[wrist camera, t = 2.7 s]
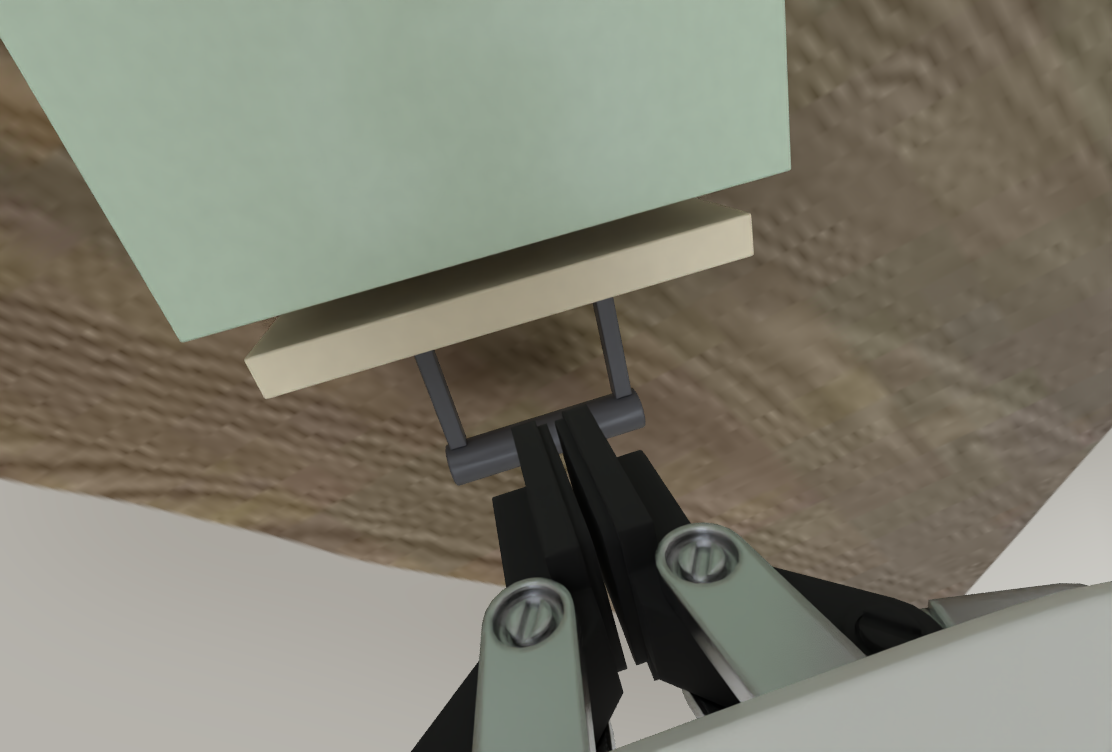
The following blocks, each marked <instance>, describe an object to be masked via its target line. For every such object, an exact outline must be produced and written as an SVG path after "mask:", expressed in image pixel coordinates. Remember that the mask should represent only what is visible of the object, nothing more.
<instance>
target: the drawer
mask: <svg viewBox="0 0 1112 752" xmlns="http://www.w3.org/2000/svg"><path fill="white" fill-rule="evenodd" d="M753 254H754V250H753V236H752V222H751V214H750V213H747V212H744V211H740V210H737V209H733V208H729V207H726V206H722V205H718V204H715V203H711V202H708V201H704V200H700V199H697V198H691V199H687V200H684V201H680V202H677V203H673V204H670V205H666V206H663V207H659V208H656V209H652V210H649V211H645V212H642V213H638V214H635V215H631V216H628V217H624V218H620V219H617V220H613V221H610V222H606V223H603V224H599V225H596V226H592V227H589V228H585V229H582V230H578V231H575V232H571V233H568V234H564V235H561V236H557V237H553V238H550V239H546V240H543V241H539V242H536V243H532V244H529V245H525V246H522V247H518V248H515V249H511V250H508V251H504V252H501V253H497V254H494V255H490V256H487V257H483V258H479V259H476V260H472V261H469V262H465V263H462V264H458V265H455V266H451V267H448V268H444V269H441V270H437V271H434V272H430V273H427V274H423V275H420V276H416V277H412V278H409V279H405V280H402V281H398V282H395V283H391V284H388V285H384V286H381V287H377V288H374V289H370V290H367V291H363V292H360V293H356V294H353V295H349V296H346V297H342V298H338V299H335V300H331V301H328V302H324V303H321V304H317V305H314V306H310V307H307V308H303V309H300V310H296V311H293V312H289V313H286V314H282V315H280V316H279V317H278V318H277V320H276V321H275V322H274V323H273V325H272V326H271V327H270V328H269V329H268V331H267V332H266V333H265V334H264V336H263V337H262V338H261V339H260V341H259V342H258V343H257V344H256V345H255V347H254V348H253V349H252V350H251V352H250V353H249V354H248V355H247V356H246V358H245V359H244V360H245V363H246V365H247V367H248V369H249V370H250V372H251V374H252V376H253V378H254V380H255V381H256V383H257V385H258V387H259V389H260V391H261V392H262V394H263V396H264V398H265V399H269V398H272V397H276V396H279V395H282V394H286V393H289V392H292V391H296V390H299V389H303V388H306V387H309V386H313V385H316V384H320V383H323V382H326V381H330V380H333V379H336V378H340V377H343V376H347V375H350V374H353V373H357V372H360V371H364V370H367V369H370V368H374V367H377V366H381V365H384V364H387V363H391V362H394V361H397V360H401V359H404V358H408V357H411V356H414V357H415V359H416V362H417V365H418V367H419V370H420V372H421V375H422V378H423V380H424V383H425V385H426V388H427V390H428V393H429V396H430V398H431V401H432V403H433V406H434V409H435V411H436V414H437V416H438V419H439V422H440V424H441V427H442V429H443V432H444V434H445V437H446V440H447V442H448V445H446V457H447V462H448V466H449V469H450V472H451V475H452V477H453V480H454V482H455V483H456V484H457V485H463V484H466V483H469V482H472V481H475V480H478V479H482V478H485V477H488V476H491V475H494V474H497V473H501V472H504V471H507V470H510V469H513V468H516V467H519V466H520V462H519V458H518V454H517V450H516V447H515V443H514V439H513V435H512V431H511V427H513V426H517V425H520V424H523V423H526V422H529V421H533V420H535V421H536V424H537V426H539V425H542V424H546V423H547V425H548V428H549V431H550V433H551V436H552V438H553V441H554V443H555V446H556V448H557V451H558V454H561V453H563V452H562V449H561V445H560V441H559V438H558V434H557V431H556V427H555V423H554V421H555V420H558V419H561V418H563V417H562V411H565V410H568V409H571V408H574V407H577V406H581V405H584V404H587V406H588V408H589V409H590V411H591V413H592V415H593V416H594V418H595V420H596V422H597V423H598V425H599V427H600V429H601V430H602V432H603V434H604V436H605V437H606V439H608V438H611V437H614V436H617V435H621V434H624V433H627V432H630V431H633V430H636V429H640V428H643V427H644V426H645V415H644V411H643V407H642V404H641V401H640V399H639V397H638V395H637V393H636V391H635V390H634V389H633V388H631V387H630V381H629V376H628V371H627V366H626V361H625V356H624V351H623V346H622V340H621V335H620V330H619V325H618V320H617V315H616V310H615V305H614V299H613V297H614V296H618V295H621V294H624V293H628V292H631V291H635V290H638V289H641V288H645V287H648V286H651V285H655V284H658V283H662V282H665V281H668V280H672V279H675V278H679V277H682V276H685V275H689V274H692V273H695V272H699V271H702V270H706V269H709V268H712V267H716V266H719V265H723V264H726V263H729V262H733V261H736V260H739V259H743V258H746V257H750V256H752V255H753ZM590 303H593V307H594V312H595V316H596V321H597V326H598V330H599V335H600V340H601V345H602V349H603V354H604V359H605V363H606V368H607V373H608V377H609V382H610V387H611V391H612V394H609V395H606V396H602V397H599V398H596V399H593V400H589V401H586V402H583V403H580V404H577V405H573V406H570V407H567V408H564V409H560V410H557V411H554V412H551V413H547V414H544V415H541V416H538V417H535V418H531V419H528V420H525V421H522V422H518V423H515V424H512V425H509V426H506V427H502V428H499V429H496V430H493V431H489V432H486V433H483V434H480V435H476V436H473V437H470V438H467V439H466V435H465V432H464V429H463V427H462V424H461V421H460V418H459V416H458V413H457V410H456V408H455V405H454V402H453V399H452V397H451V394H450V391H449V388H448V386H447V383H446V380H445V377H444V375H443V372H442V369H441V367H440V364H439V361H438V358H437V356H436V353H435V349H438V348H441V347H445V346H448V345H452V344H455V343H458V342H462V341H465V340H469V339H472V338H475V337H479V336H482V335H485V334H489V333H492V332H496V331H499V330H502V329H506V328H509V327H513V326H516V325H519V324H523V323H526V322H530V321H533V320H536V319H540V318H543V317H546V316H550V315H553V314H557V313H560V312H563V311H567V310H570V309H574V308H577V307H580V306H584V305H587V304H590Z"/></svg>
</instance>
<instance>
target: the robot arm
mask: <svg viewBox="0 0 1112 752" xmlns="http://www.w3.org/2000/svg"><path fill="white" fill-rule="evenodd" d="M562 417H563V418H561V419H558V420H555V421H554V423H555V427H556V431H557V434H558V438H559V441H560V445H561V449H562V452H563V456H564V459H565V463H566V467H567V470H568V474H569V477H570V481H571V484H570V482H569V479H568V477H567V474H566V471H565V469H564V466H563V464H562V461H561V459H560V456H559V454H558V451H557V448H556V446H555V443H554V441H553V438H552V436H551V433H550V431H549V428H548V425H547V423H546V424H542V425H539V426H537V424H536V421H535V420H533V421H529V422H526V423H523V424H520V425H517V426H513V427H511V431H512V435H513V439H514V443H515V447H516V450H517V454H518V458H519V462H520V466H521V469H522V473H523V477H524V481H525V485H526V487H523V488H520V489H517V490H514V491H511V492H508V493H505V494H502V495H499V496H496V497H493V498H492V501H493V508H494V514H495V520H496V527H497V533H498V539H499V545H500V552H501V558H502V564H503V570H504V577H505V583H506V588H505V589H504V590H502V591H501V592H500V593H499V594H498V595H497V596H496V597H495V598H494V599H493V600H492V601H491V603H490V605H489V607H488V608H487V610H486V612H485V615H484V619H483V623H482V633H481V644H480V657H479V661H478V663H477V664H476V665H475V667H474V668H473V670H472V671H471V672H470V674H469V675H468V676H467V678H466V679H465V680H464V682H463V683H462V684H461V686H460V687H459V688H458V690H457V691H456V692H455V694H454V695H453V696H452V698H451V699H450V700H449V702H448V703H447V704H446V706H445V707H444V709H443V710H442V711H441V712H440V714H439V715H438V716H437V718H436V719H435V720H434V722H433V723H432V725H431V726H430V727H429V728H428V730H427V731H426V732H425V734H424V735H423V736H422V738H421V739H420V740H419V742H418V743H417V744H416V746H415V747H414V748H413V750H412V751H411V752H1112V581H1111V582H1105V583H1100V584H1095V585H1091V586H1087V585H1083V584H1067V583H1059V584H1050V585H1043V586H1035V587H1027V588H1019V589H1011V590H1003V591H995V592H988V593H979V594H971V595H963V596H955V597H948V598H940V599H932V600H929V602H928V608H922V609H918V608H917V607H915V606H914V605H911V604H909V603H906V602H903V601H900V600H898V599H895V598H891V597H887V596H883V595H880V594H876V593H872V592H868V591H864V590H860V589H856V588H853V587H849V586H845V585H841V584H837V583H833V582H829V581H826V580H822V579H818V578H814V577H810V576H806V575H802V574H798V573H795V572H791V571H787V570H783V569H779V568H775V567H772V566H771V565H770V564H769V563H768V562H767V561H766V560H765V559H764V558H763V557H762V556H760V555H759V554H758V553H757V552H756V551H755V550H754V549H753V548H752V547H751V546H750V545H749V544H748V543H747V542H746V541H745V540H744V539H743V538H741V537H740V536H739V535H738V534H736V533H735V532H733V531H732V530H731V529H729V528H726V527H723V526H721V525H718V524H712V523H693V524H691V523H690V522H689V520H688V519H687V517H686V516H685V514H684V513H683V511H682V509H681V508H680V506H679V505H678V503H677V502H676V500H675V499H674V497H673V496H672V494H671V493H670V491H669V490H668V488H667V487H666V485H665V484H664V482H663V481H662V479H661V478H660V476H659V475H658V473H657V472H656V470H655V469H654V467H653V466H652V464H651V463H650V461H649V460H648V458H647V457H646V455H645V454H644V453H643V451H641V450H638V451H635V452H632V453H629V454H626V455H623V456H619V457H616V455H615V453H614V452H613V450H612V448H611V446H610V444H609V443H608V441H607V439H606V437H605V436H604V434H603V432H602V430H601V429H600V427H599V425H598V423H597V422H596V420H595V418H594V416H593V415H592V413H591V411H590V409H589V408H588V406H587V404H584V405H581V406H577V407H574V408H571V409H568V410H565V411H562ZM571 485H572V487H571ZM572 488H573V489H572ZM604 583H605V584H604ZM605 585H606V588H607V591H608V593H609V596H610V598H611V601H612V604H613V606H614V609H615V611H616V614H617V617H618V619H619V622H620V625H621V627H622V630H623V632H624V635H625V638H626V640H627V643H628V646H629V648H630V651H631V653H632V656H633V659H634V661H635V663H636V665H639V664H642V663H644V662H647V663H648V666H649V668H650V671H651V673H652V676H653V678H654V681H655V680H658V679H660V680H662V681H664V682H667V683H669V684H672V685H674V686H676V687H679V688H681V689H682V691H683V694H684V696H685V699H686V701H687V703H688V705H689V707H690V708H691V710H692V712H693V713H694V715H695V716H696V718H697V719H695V720H693V721H690V722H687V723H685V724H682V725H679V726H677V727H674V728H671V729H668V730H666V731H663V732H660V733H658V734H655V735H652V736H650V737H647V738H644V739H642V740H639V741H636V742H633V743H631V744H628V745H625V746H623V747H620V748H617V749H616V746H615V739H614V733H613V729H612V726H611V723H610V718H611V716H612V714H613V712H614V710H615V708H616V706H617V704H618V702H619V700H620V698H621V696H622V694H623V689H622V686H621V682H620V679H619V675H618V672H619V671H622V670H625V669H627V665H626V662H625V658H624V654H623V651H622V647H621V643H620V639H619V636H618V632H617V628H616V625H615V621H614V618H613V614H612V610H611V606H610V602H609V599H608V595H607V591H606V588H605Z"/></svg>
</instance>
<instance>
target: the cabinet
mask: <svg viewBox="0 0 1112 752" xmlns="http://www.w3.org/2000/svg"><path fill="white" fill-rule="evenodd" d="M0 38H1V39H2V41H3V43H4V44H5V46H6V48H7V49H8V51H9V53H10V54H11V56H12V58H13V60H14V61H15V63H16V65H17V66H18V68H19V70H20V71H21V73H22V75H23V76H24V78H25V80H26V82H27V83H28V85H29V87H30V88H31V90H32V92H33V93H34V95H35V97H36V98H37V100H38V102H39V103H40V105H41V107H42V109H43V110H44V112H45V114H46V115H47V117H48V119H49V120H50V122H51V124H52V125H53V127H54V129H55V131H56V132H57V134H58V136H59V137H60V139H61V141H62V142H63V144H64V146H65V147H66V149H67V151H68V152H69V154H70V156H71V158H72V159H73V161H74V163H75V164H76V166H77V168H78V169H79V171H80V173H81V174H82V176H83V178H84V180H85V181H86V183H87V185H88V186H89V188H90V190H91V191H92V193H93V195H94V196H95V198H96V200H97V202H98V203H99V205H100V207H101V208H102V210H103V212H104V213H105V215H106V217H107V218H108V220H109V222H110V223H111V225H112V227H113V229H114V230H115V232H116V234H117V235H118V237H119V239H120V240H121V242H122V244H123V245H124V247H125V249H126V251H127V252H128V254H129V256H130V257H131V259H132V261H133V262H134V264H135V266H136V267H137V269H138V271H139V272H140V274H141V276H142V278H143V279H144V281H145V283H146V284H147V286H148V288H149V289H150V291H151V293H152V294H153V296H154V298H155V300H156V301H157V303H158V305H159V306H160V308H161V310H162V311H163V313H164V315H165V316H166V318H167V320H168V322H169V323H170V325H171V327H172V328H173V330H174V332H175V333H176V335H177V337H178V338H179V340H180V341H181V342H187V341H190V340H194V339H197V338H201V337H205V336H208V335H212V334H215V333H219V332H222V331H226V330H229V329H233V328H236V327H240V326H243V325H247V324H250V323H254V322H257V321H261V320H264V319H268V318H271V317H275V316H279V315H282V314H286V313H289V312H293V311H296V310H300V309H303V308H307V307H310V306H314V305H317V304H321V303H324V302H328V301H331V300H335V299H338V298H342V297H346V296H349V295H353V294H356V293H360V292H363V291H367V290H370V289H374V288H377V287H381V286H384V285H388V284H391V283H395V282H398V281H402V280H405V279H409V278H412V277H416V276H420V275H423V274H427V273H430V272H434V271H437V270H441V269H444V268H448V267H451V266H455V265H458V264H462V263H465V262H469V261H472V260H476V259H479V258H483V257H487V256H490V255H494V254H497V253H501V252H504V251H508V250H511V249H515V248H518V247H522V246H525V245H529V244H532V243H536V242H539V241H543V240H546V239H550V238H553V237H557V236H561V235H564V234H568V233H571V232H575V231H578V230H582V229H585V228H589V227H592V226H596V225H599V224H603V223H606V222H610V221H613V220H617V219H620V218H624V217H628V216H631V215H635V214H638V213H642V212H645V211H649V210H652V209H656V208H659V207H663V206H666V205H670V204H673V203H677V202H680V201H684V200H687V199H691V198H694V197H698V196H702V195H705V194H709V193H712V192H716V191H719V190H723V189H726V188H730V187H733V186H737V185H740V184H744V183H747V182H751V181H754V180H758V179H761V178H765V177H769V176H772V175H776V174H779V173H783V172H786V171H789V170H790V169H791V158H790V131H789V105H788V78H787V51H786V24H785V0H0Z"/></svg>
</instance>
